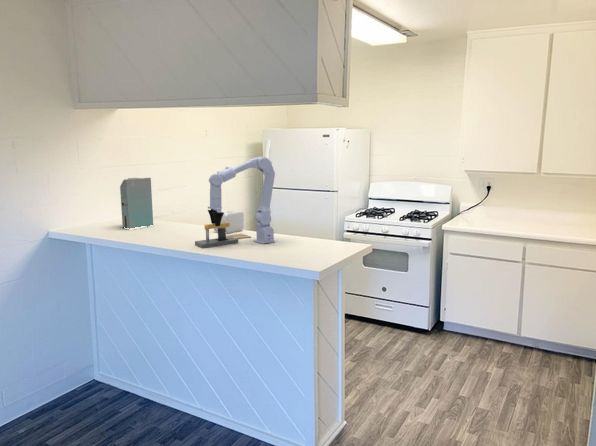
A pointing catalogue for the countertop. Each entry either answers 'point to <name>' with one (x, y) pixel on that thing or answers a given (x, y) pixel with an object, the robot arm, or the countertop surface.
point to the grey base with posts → (215, 241)
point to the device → (136, 202)
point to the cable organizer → (233, 221)
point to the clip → (212, 226)
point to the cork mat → (239, 236)
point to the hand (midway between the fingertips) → (215, 224)
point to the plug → (221, 234)
